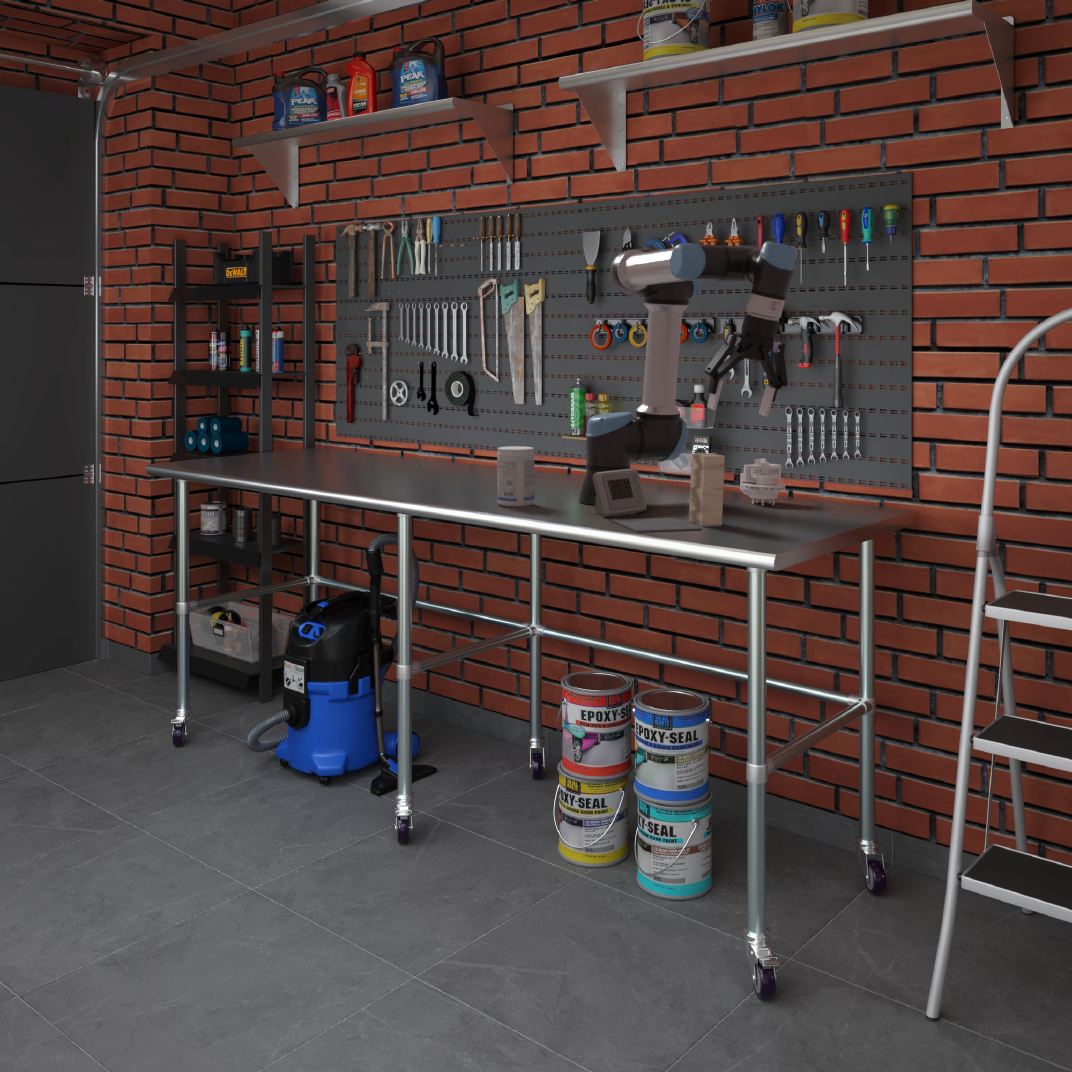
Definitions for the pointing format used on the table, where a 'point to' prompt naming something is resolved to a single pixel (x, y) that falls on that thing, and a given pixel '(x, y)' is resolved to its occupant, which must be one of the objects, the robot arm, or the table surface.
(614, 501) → the digital clock
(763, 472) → the mechanical part
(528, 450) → the supplement tub
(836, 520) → the table surface
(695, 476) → the beige rectangular block
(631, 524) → the charcoal rubber mat
